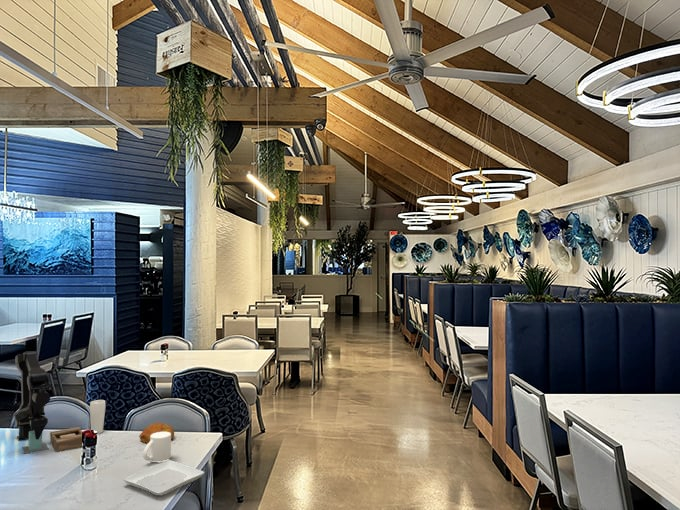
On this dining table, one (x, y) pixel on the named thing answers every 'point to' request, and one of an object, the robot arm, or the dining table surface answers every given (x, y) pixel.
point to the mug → (158, 447)
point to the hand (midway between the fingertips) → (35, 436)
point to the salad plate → (189, 471)
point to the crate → (66, 439)
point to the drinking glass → (97, 415)
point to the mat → (26, 449)
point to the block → (34, 441)
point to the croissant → (153, 429)
